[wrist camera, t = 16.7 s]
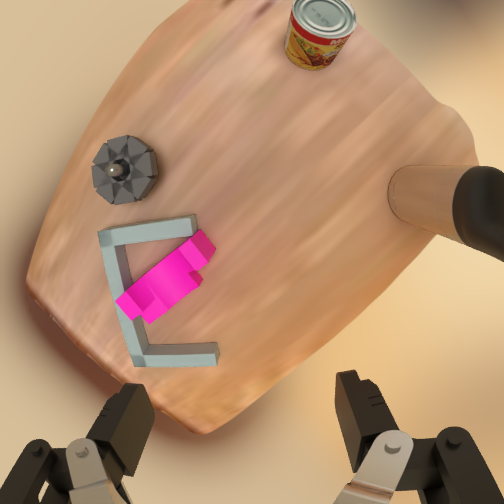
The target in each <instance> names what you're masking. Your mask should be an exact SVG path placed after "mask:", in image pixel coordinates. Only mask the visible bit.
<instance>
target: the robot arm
mask: <svg viewBox="0 0 504 504" xmlns="http://www.w3.org/2000/svg"><path fill="white" fill-rule="evenodd" d="M388 199H389V204H390V207H391V209H392V211H393V212H394V214H395V215H396V216H397V217H398V218H399V219H401V220H402V221H404V222H407V223H410V224H412V225H415V226H417V227H420V228H423V229H425V230H428V231H431V232H433V233H436V234H439V235H441V236H444V237H446V238H449V239H451V240H454V241H457V242H459V243H461V244H464V245H466V246H469V247H471V248H473V249H476V250H479V251H481V252H484V253H486V254H488V255H490V256H493V257H495V258H497V259H499V260H501V261H502V262H504V173H503V172H502V171H500V170H498V169H496V168H493V167H488V166H406V167H403V168H401V169H400V170H398V171H397V172H396V173H395V174H394V176H393V177H392V179H391V181H390V184H389V189H388ZM335 409H336V414H337V417H338V421H339V424H340V428H341V431H342V435H343V438H344V442H345V445H346V449H347V452H348V456H349V459H350V463H351V467H352V470H353V473H356V472H357V473H356V474H355V476H354V478H353V479H352V481H351V482H350V483H347V485H346V486H345V487H344V488H343V490H342V491H341V493H340V494H339V496H338V497H337V498H336V500H335V501H334V503H333V504H389V502H390V500H391V497H392V496H393V493H394V491H407V490H417V491H418V494H419V497H420V501H421V504H504V498H503V496H502V494H501V492H500V490H499V488H498V486H497V484H496V482H495V480H494V478H493V476H492V474H491V472H490V470H489V468H488V466H487V464H486V462H485V460H484V458H483V457H482V455H481V453H480V451H479V449H478V447H477V446H476V444H475V442H474V440H473V439H472V437H471V435H470V434H469V432H468V431H466V430H465V429H463V428H461V427H448V428H446V429H444V430H442V431H441V432H440V433H439V434H438V436H437V438H429V439H414V438H411V437H410V436H409V435H408V434H407V433H405V432H403V431H400V430H399V428H398V426H397V424H396V422H395V420H394V418H393V416H392V414H391V412H390V410H389V408H388V406H387V404H386V403H385V400H384V398H383V396H382V394H381V392H380V390H379V388H378V386H377V385H376V384H374V383H373V382H371V381H370V380H369V379H367V380H362V381H360V379H359V376H358V374H357V372H356V371H355V370H350V371H344V372H338V373H337V374H336V387H335ZM154 417H155V415H154V409H153V407H152V404H151V402H150V399H149V397H148V394H147V392H146V389H145V387H144V385H143V384H133V383H125V384H124V386H123V387H122V389H121V391H120V392H119V394H118V393H116V394H114V395H113V396H112V397H111V398H110V399H108V400H107V402H106V404H105V405H104V407H103V410H101V412H100V414H99V416H98V417H97V419H96V421H95V422H94V424H93V426H92V428H91V429H90V431H89V432H88V434H87V436H86V438H81V439H77V440H75V441H73V442H71V443H70V444H69V445H68V447H67V448H52V447H51V446H50V445H49V443H48V442H47V441H45V440H43V439H36V440H33V441H31V442H30V443H28V444H27V445H26V447H25V448H24V450H23V452H22V453H21V455H20V456H19V458H18V460H17V461H16V463H15V465H14V466H13V468H12V470H11V471H10V473H9V475H8V477H7V479H6V480H5V482H4V484H3V485H2V487H1V489H0V504H133V502H132V500H131V498H130V496H129V494H128V492H127V490H126V488H125V486H124V483H123V482H122V481H121V480H122V477H123V475H126V476H131V477H133V476H134V473H135V471H136V468H137V465H138V462H139V460H140V457H141V455H142V452H143V449H144V447H145V444H146V441H147V439H148V436H149V433H150V431H151V428H152V426H153V423H154ZM45 480H46V481H47V482H48V484H49V485H48V487H47V489H46V492H45V494H44V496H43V498H42V500H41V502H39V499H38V495H39V493H40V490H41V488H42V486H43V484H44V482H45Z"/></svg>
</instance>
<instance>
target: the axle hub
mask: <svg viewBox="0 0 504 504" xmlns="http://www.w3.org/2000/svg"><path fill="white" fill-rule="evenodd" d="M105 174H106V175H107V176H109V177H111V176H119V177H120V178H121V179H123V180H124V181H125V180H126V179H127V177H128V176H129V174H130V164H129V163H128V162H127V161H126V160H124V161H122V163H121V164H108V165H107V166H106V167H105Z"/></svg>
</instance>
